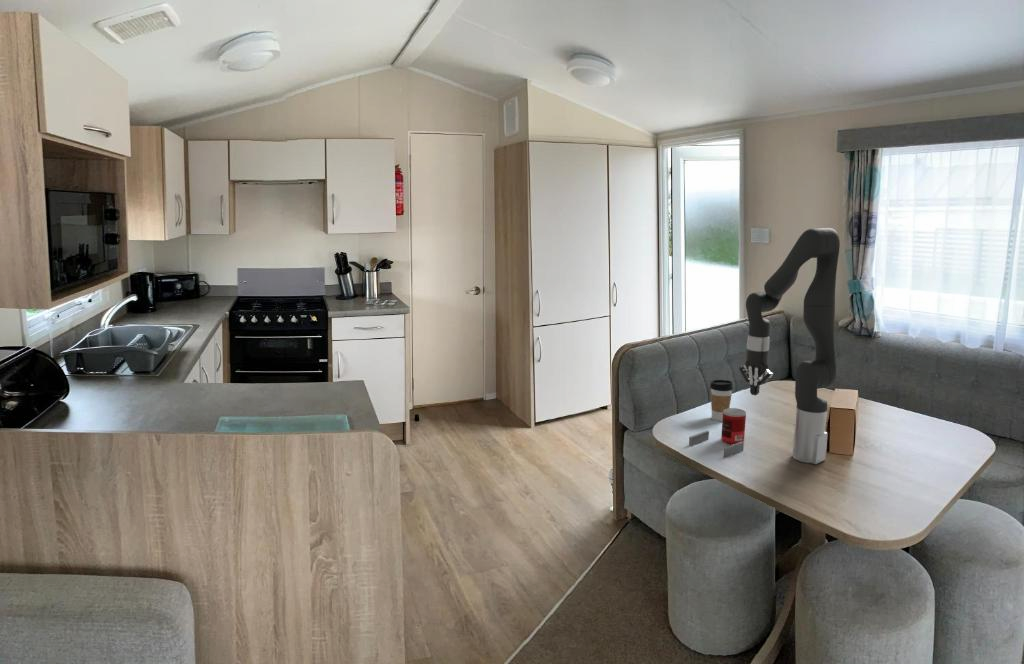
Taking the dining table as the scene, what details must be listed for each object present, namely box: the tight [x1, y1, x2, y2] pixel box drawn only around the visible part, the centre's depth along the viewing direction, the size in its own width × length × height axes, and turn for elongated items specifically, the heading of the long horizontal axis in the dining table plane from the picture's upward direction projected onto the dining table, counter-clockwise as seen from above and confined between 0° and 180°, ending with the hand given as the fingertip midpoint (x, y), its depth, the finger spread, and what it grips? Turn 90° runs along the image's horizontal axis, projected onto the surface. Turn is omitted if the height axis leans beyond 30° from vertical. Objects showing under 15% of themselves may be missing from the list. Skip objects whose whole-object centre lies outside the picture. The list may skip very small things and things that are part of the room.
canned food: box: [720, 407, 747, 445], centre depth 247 cm, size 8×8×11 cm
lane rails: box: [688, 430, 745, 459], centre depth 242 cm, size 15×10×3 cm, turn 40°
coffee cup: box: [709, 379, 734, 422], centre depth 270 cm, size 8×8×15 cm
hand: (754, 394), depth 253 cm, fingers closed
